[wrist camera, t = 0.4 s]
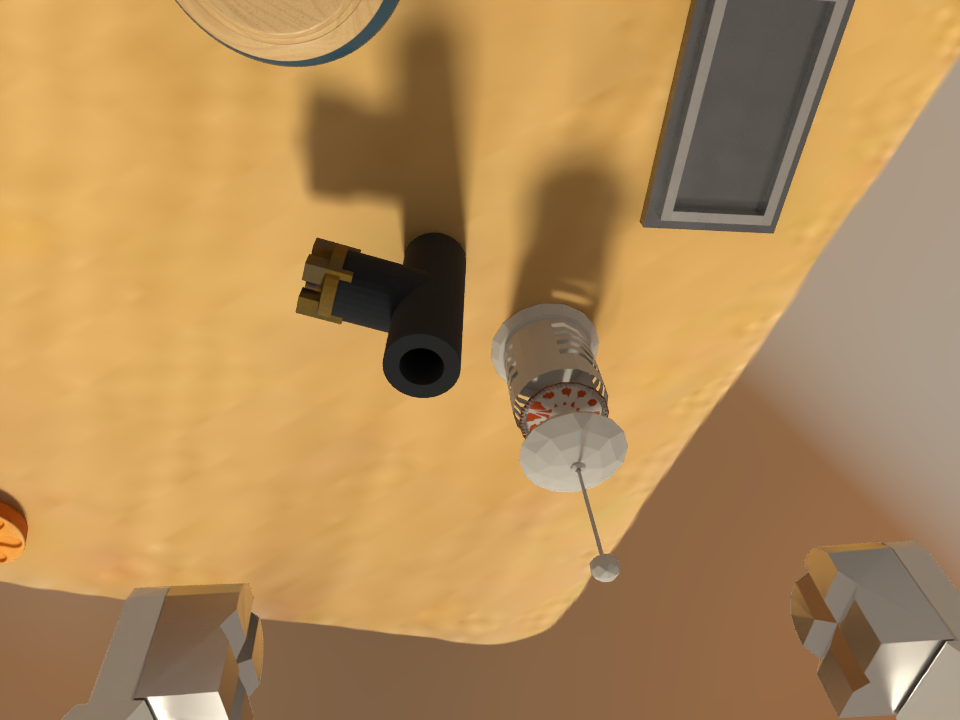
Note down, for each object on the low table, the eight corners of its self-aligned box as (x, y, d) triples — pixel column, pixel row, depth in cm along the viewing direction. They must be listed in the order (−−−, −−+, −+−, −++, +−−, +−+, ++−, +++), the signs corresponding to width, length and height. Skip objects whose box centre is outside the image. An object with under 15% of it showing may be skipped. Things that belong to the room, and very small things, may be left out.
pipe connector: (319, 259, 59) (275, 364, 46) (332, 200, 56) (288, 295, 43) (455, 296, 61) (447, 407, 48) (474, 241, 58) (471, 343, 45)
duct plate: (701, -45, 48) (711, -42, 46) (857, -31, 49) (871, -27, 48) (640, 221, 59) (645, 231, 57) (768, 228, 60) (777, 237, 58)
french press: (571, 283, 61) (653, 500, 41) (622, 376, 68) (716, 604, 47) (470, 335, 64) (501, 565, 43) (529, 420, 70) (580, 656, 50)
